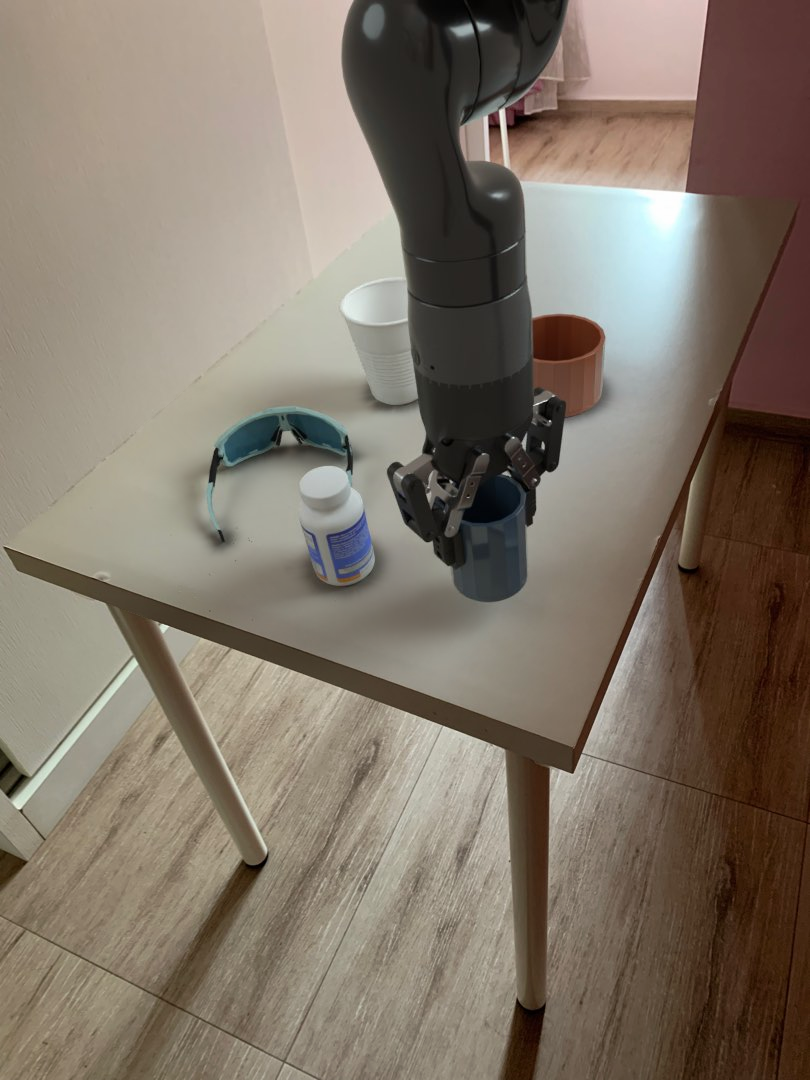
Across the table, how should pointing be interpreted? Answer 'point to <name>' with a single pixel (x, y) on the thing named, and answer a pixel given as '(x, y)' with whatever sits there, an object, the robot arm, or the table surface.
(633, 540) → the table surface
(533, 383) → the robot arm
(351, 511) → the pill bottle
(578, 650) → the table surface
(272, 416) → the sunglasses
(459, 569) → the slate cup
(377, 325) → the cup
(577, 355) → the terracotta cup
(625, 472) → the table surface
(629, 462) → the table surface
